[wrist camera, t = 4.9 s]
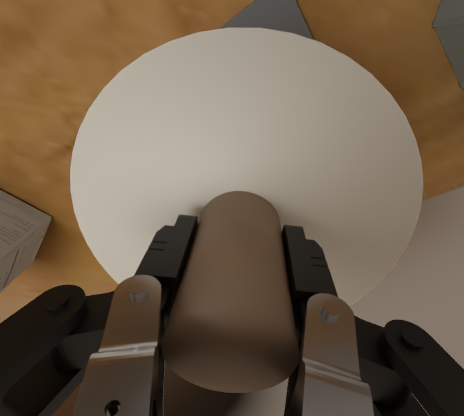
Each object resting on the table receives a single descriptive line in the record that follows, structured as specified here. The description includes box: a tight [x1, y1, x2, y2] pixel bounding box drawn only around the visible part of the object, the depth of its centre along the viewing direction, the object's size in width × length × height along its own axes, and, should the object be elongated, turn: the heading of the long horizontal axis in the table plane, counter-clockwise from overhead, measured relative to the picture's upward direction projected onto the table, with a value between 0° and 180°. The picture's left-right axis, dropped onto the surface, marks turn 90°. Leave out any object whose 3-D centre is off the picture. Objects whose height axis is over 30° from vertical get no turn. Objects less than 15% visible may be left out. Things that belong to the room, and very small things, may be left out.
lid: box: [70, 28, 423, 393], centre depth 10 cm, size 15×15×7 cm
